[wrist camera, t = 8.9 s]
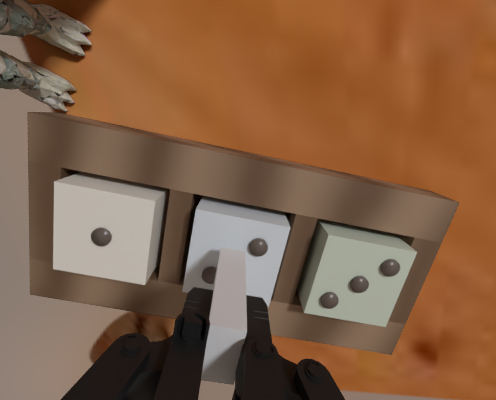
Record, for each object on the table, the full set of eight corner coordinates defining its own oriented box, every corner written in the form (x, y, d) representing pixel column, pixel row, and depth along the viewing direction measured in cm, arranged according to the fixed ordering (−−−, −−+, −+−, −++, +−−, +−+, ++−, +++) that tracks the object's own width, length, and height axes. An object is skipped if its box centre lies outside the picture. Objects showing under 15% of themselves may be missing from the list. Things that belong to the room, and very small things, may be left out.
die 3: (293, 278, 24) (304, 314, 19) (312, 212, 22) (329, 236, 18) (361, 290, 24) (386, 329, 20) (385, 227, 22) (419, 253, 18)
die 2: (193, 260, 23) (181, 293, 19) (205, 191, 21) (195, 210, 17) (264, 273, 23) (269, 308, 19) (282, 206, 22) (290, 228, 17)
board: (56, 272, 23) (30, 294, 20) (59, 112, 20) (27, 112, 17) (374, 327, 25) (391, 354, 22) (431, 191, 22) (459, 202, 19)
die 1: (88, 240, 22) (50, 270, 18) (92, 168, 21) (51, 182, 16) (163, 254, 23) (143, 286, 19) (172, 184, 21) (154, 201, 17)
